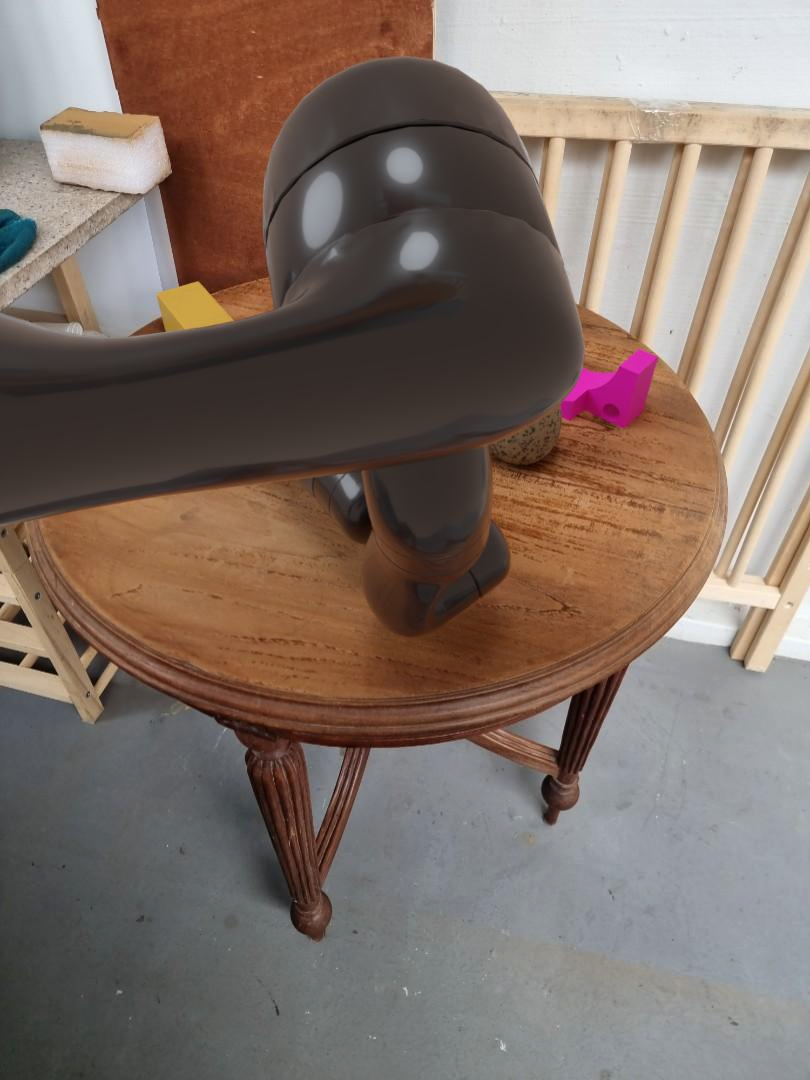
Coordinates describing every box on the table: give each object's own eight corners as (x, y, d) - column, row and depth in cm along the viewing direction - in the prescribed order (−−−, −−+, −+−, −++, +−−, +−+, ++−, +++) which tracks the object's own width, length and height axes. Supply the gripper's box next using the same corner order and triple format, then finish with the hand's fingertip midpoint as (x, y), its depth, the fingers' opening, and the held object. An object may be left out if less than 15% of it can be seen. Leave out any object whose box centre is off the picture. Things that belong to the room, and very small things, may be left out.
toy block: (485, 389, 82) (491, 327, 77) (519, 363, 86) (527, 302, 80) (608, 449, 76) (624, 386, 70) (640, 419, 79) (658, 356, 73)
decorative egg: (565, 447, 76) (582, 361, 69) (538, 491, 72) (553, 404, 64) (498, 425, 78) (507, 339, 71) (468, 467, 74) (475, 380, 67)
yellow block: (193, 340, 79) (155, 293, 85) (203, 380, 83) (165, 333, 89) (238, 325, 81) (198, 280, 87) (246, 366, 85) (206, 320, 91)
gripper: (391, 379, 64) (295, 288, 74) (244, 434, 59) (162, 329, 69) (392, 449, 69) (303, 355, 79) (257, 504, 64) (180, 397, 74)
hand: (237, 343), depth 74 cm, fingers closed
